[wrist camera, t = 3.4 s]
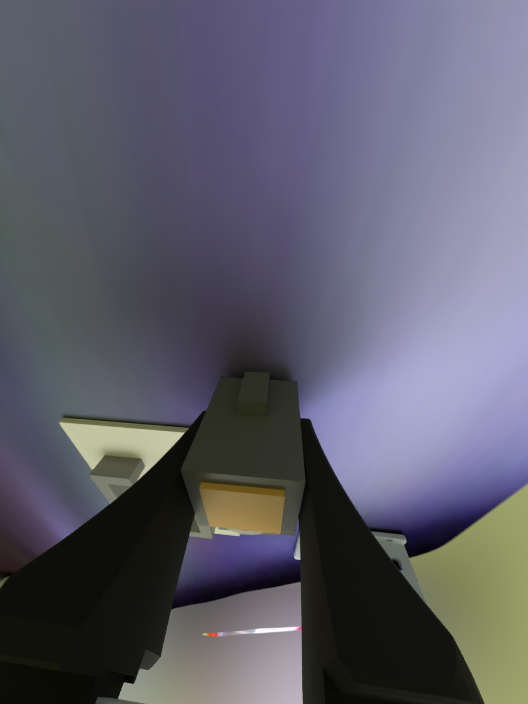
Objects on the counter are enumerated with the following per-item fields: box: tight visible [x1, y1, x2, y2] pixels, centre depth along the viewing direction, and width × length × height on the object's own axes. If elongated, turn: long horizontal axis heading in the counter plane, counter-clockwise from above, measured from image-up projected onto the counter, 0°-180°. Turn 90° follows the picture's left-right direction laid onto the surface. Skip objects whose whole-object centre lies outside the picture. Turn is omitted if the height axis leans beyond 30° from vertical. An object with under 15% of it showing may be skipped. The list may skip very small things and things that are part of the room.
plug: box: [181, 372, 305, 536], centre depth 9 cm, size 4×5×5 cm
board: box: [59, 418, 240, 539], centre depth 18 cm, size 12×16×2 cm
